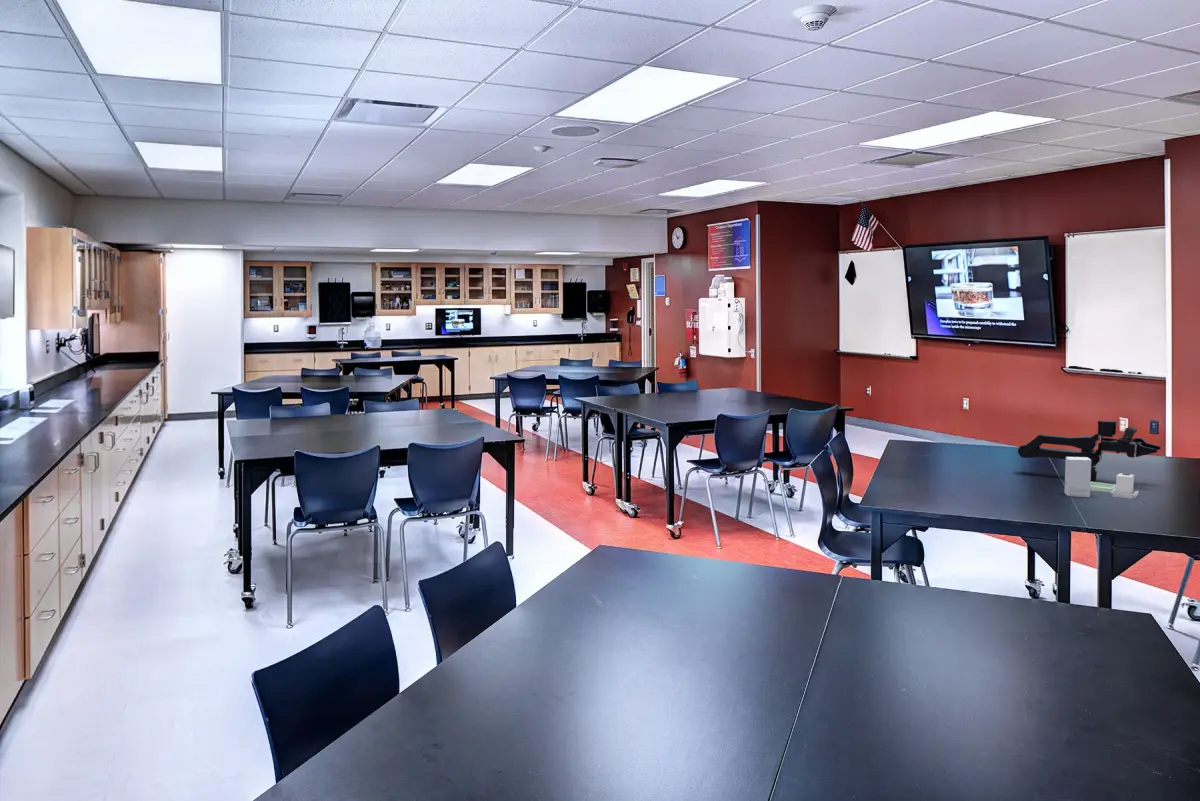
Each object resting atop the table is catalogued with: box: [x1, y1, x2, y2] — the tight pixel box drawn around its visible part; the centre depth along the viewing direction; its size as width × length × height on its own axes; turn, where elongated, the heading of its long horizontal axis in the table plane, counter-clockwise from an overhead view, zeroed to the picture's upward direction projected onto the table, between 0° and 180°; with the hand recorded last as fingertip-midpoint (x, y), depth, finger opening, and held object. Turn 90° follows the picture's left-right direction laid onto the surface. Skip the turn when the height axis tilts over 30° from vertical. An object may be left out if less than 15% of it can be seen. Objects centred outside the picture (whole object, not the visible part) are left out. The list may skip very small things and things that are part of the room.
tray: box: [1090, 481, 1116, 493], centre depth 344 cm, size 9×11×2 cm
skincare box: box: [1064, 457, 1092, 498], centre depth 333 cm, size 8×7×16 cm
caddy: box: [1115, 471, 1135, 495], centre depth 333 cm, size 5×7×9 cm
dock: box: [1108, 489, 1139, 500], centre depth 333 cm, size 8×10×2 cm
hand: (1159, 449), depth 345 cm, fingers open, 9 cm apart
